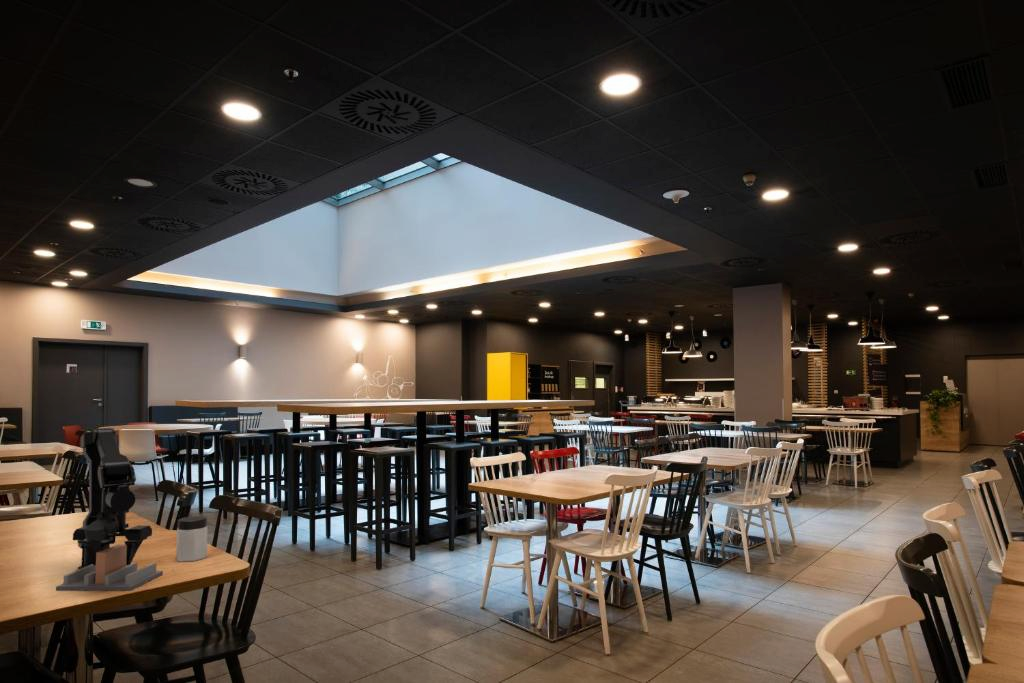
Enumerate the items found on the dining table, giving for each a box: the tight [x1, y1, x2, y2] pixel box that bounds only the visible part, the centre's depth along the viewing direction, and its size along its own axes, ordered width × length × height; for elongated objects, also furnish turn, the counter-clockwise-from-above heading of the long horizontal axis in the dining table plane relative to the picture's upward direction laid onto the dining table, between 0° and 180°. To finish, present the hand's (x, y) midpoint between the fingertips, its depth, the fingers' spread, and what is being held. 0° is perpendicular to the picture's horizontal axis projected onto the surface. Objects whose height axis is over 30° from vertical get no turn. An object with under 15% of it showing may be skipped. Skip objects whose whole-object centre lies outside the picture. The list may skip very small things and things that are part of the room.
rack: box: [55, 562, 164, 592], centre depth 171 cm, size 20×14×4 cm
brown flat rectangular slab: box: [95, 543, 127, 584], centre depth 172 cm, size 2×9×8 cm, turn 178°
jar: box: [175, 515, 208, 563], centre depth 195 cm, size 9×8×12 cm
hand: (111, 565), depth 172 cm, fingers open, 9 cm apart
